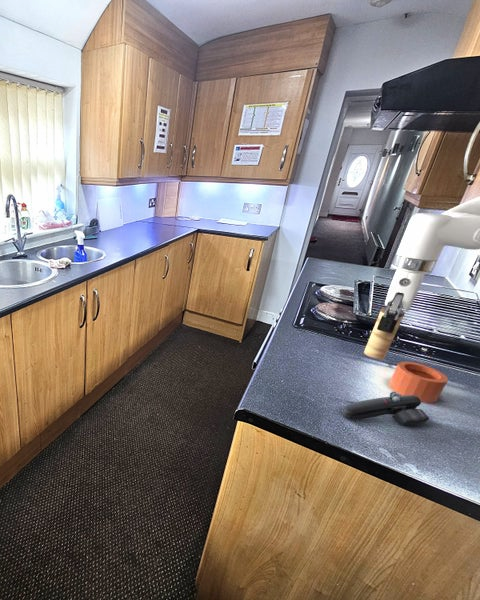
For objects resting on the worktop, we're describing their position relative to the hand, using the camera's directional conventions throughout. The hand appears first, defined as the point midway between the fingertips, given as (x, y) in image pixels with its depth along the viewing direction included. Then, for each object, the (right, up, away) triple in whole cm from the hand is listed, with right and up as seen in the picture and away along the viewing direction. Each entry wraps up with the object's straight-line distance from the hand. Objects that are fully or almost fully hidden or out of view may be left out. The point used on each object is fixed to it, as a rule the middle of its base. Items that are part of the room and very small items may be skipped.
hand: (385, 327), depth 89 cm
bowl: (+2, -17, -4) cm, 18 cm away
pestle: (0, -8, +3) cm, 9 cm away
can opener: (-14, -20, -13) cm, 27 cm away
